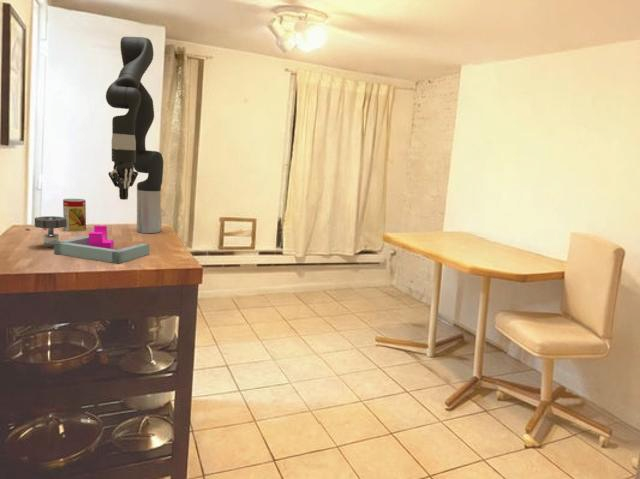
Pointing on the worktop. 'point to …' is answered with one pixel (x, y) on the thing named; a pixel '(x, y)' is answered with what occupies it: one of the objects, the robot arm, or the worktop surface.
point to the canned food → (74, 214)
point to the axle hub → (50, 238)
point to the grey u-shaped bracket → (99, 250)
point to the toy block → (100, 238)
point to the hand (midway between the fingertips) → (123, 199)
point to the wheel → (50, 222)
